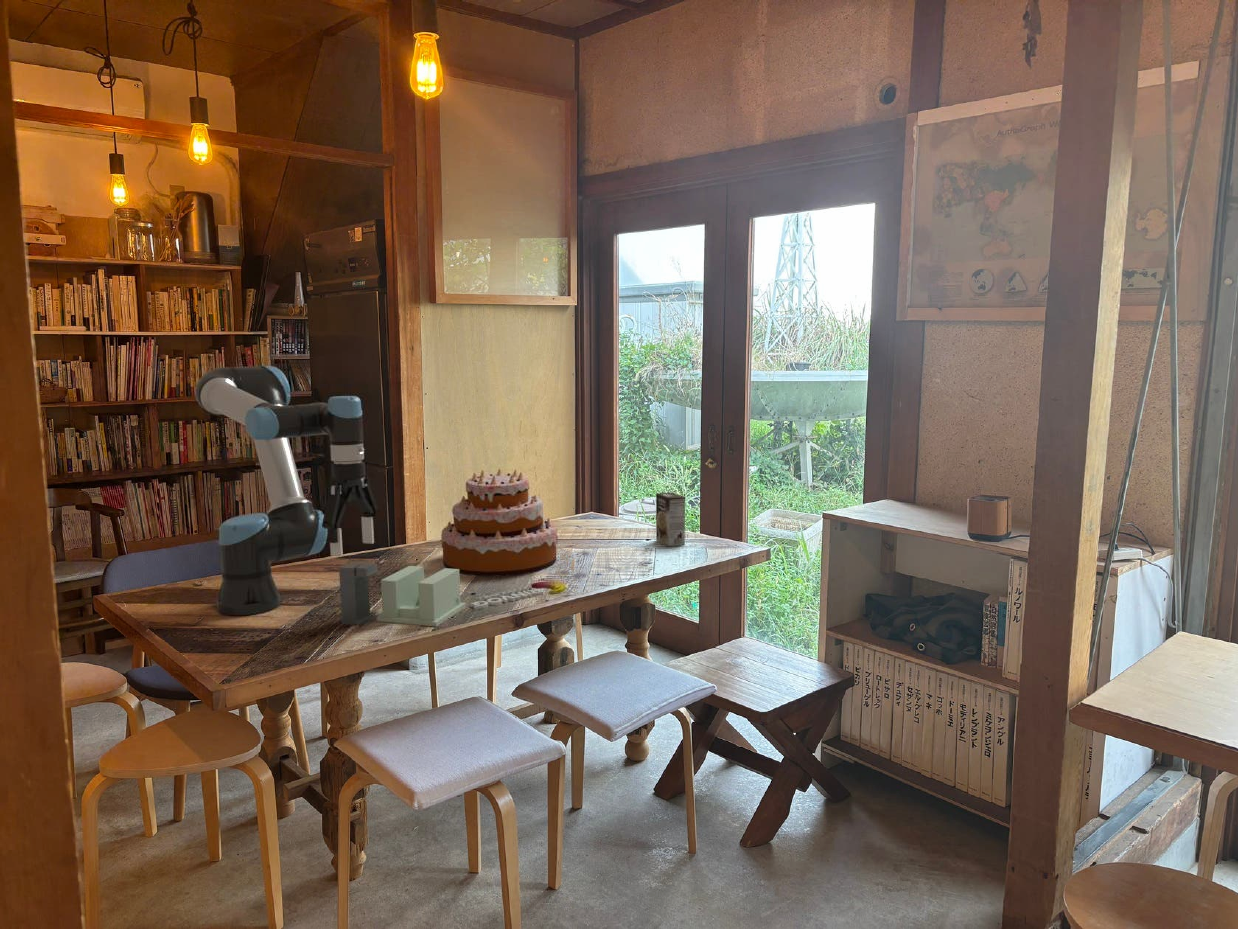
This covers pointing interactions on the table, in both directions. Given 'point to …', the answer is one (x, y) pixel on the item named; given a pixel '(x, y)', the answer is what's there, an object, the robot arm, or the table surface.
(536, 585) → the logo
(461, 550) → the cake
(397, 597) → the green slotted holder
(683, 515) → the instant coffee box
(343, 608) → the stepped grey block
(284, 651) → the table surface
